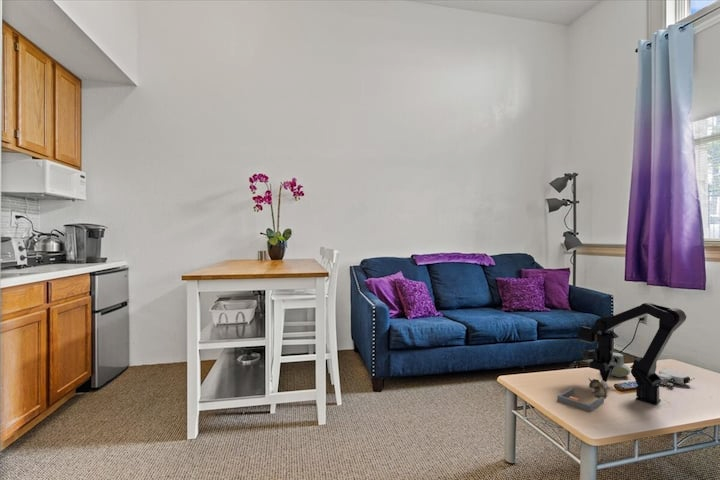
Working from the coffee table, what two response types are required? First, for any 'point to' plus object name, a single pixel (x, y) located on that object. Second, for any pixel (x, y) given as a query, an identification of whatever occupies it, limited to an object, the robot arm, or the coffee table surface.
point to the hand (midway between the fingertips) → (604, 381)
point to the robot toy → (673, 377)
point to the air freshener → (620, 367)
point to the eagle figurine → (598, 388)
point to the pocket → (576, 403)
